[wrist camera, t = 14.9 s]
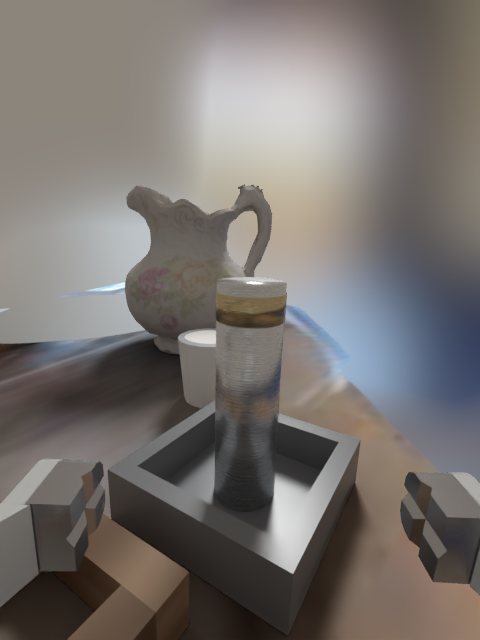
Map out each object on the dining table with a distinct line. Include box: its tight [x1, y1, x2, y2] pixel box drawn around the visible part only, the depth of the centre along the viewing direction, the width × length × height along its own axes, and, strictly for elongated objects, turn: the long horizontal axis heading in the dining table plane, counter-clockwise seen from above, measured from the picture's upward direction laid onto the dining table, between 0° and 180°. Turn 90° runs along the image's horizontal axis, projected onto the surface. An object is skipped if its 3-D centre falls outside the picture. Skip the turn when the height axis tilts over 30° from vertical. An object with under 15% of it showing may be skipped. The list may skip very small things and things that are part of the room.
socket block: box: [19, 514, 190, 640], centre depth 14 cm, size 10×10×3 cm
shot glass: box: [178, 329, 216, 408], centre depth 37 cm, size 7×7×7 cm
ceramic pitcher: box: [125, 185, 272, 355], centre depth 54 cm, size 22×20×25 cm
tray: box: [108, 400, 361, 636], centre depth 23 cm, size 12×12×4 cm
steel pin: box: [214, 277, 287, 512], centre depth 22 cm, size 4×4×14 cm
